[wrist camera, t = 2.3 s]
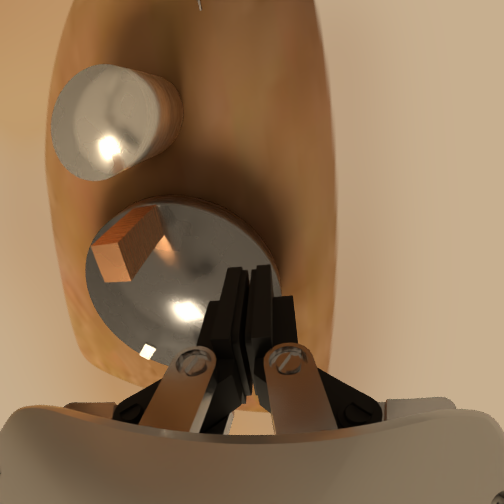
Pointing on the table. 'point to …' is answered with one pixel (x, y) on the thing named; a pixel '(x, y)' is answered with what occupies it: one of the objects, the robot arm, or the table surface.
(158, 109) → the cover
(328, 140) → the table surface
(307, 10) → the table surface
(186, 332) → the turntable
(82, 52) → the table surface
